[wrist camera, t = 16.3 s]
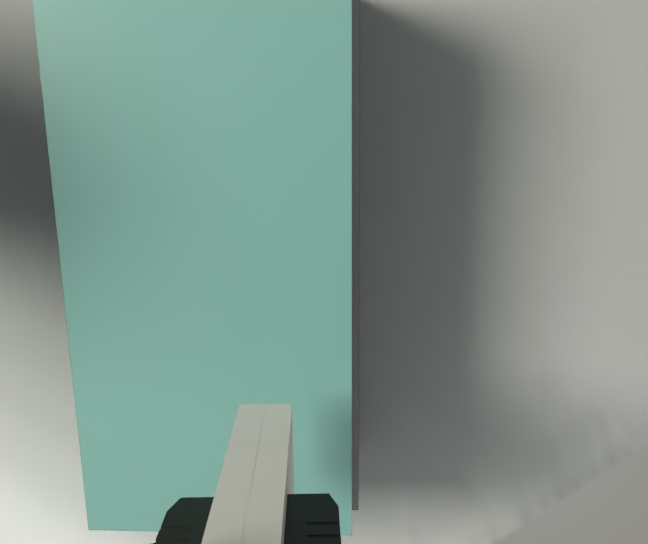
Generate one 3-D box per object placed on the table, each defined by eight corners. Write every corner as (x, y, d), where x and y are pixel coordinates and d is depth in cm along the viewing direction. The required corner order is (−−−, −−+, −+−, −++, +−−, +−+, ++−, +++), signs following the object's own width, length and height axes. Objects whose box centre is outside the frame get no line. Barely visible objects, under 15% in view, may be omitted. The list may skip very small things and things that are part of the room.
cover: (40, -36, 17) (27, -43, 17) (351, -43, 17) (351, -51, 16) (97, 517, 21) (88, 530, 21) (351, 522, 21) (351, 535, 20)
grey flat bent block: (89, -2, 21) (38, -34, 18) (352, -5, 22) (359, -36, 18) (129, 456, 25) (95, 513, 21) (352, 453, 25) (358, 510, 22)
